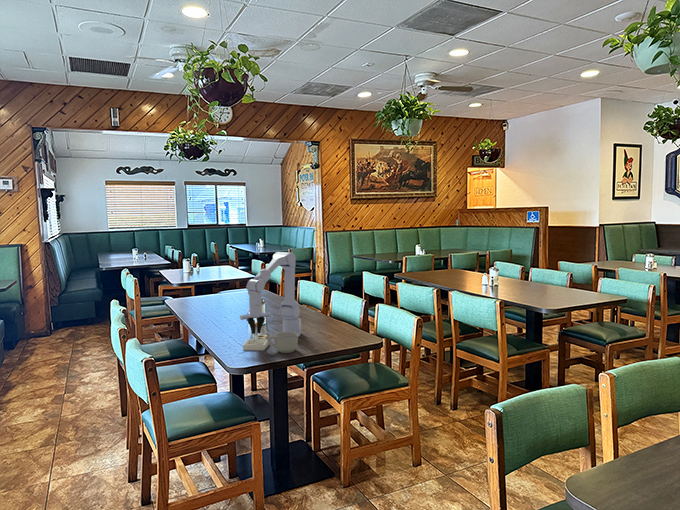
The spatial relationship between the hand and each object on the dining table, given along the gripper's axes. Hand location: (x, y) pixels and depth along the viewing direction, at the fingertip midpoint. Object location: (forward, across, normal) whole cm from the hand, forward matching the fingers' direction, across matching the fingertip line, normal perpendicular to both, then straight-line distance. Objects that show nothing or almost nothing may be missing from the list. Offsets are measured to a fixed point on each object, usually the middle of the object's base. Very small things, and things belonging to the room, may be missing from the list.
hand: (256, 333), depth 221 cm
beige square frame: (+7, -5, -7) cm, 11 cm away
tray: (+7, 0, 0) cm, 7 cm away
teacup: (+7, -8, +13) cm, 17 cm away
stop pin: (+4, 0, 0) cm, 4 cm away
